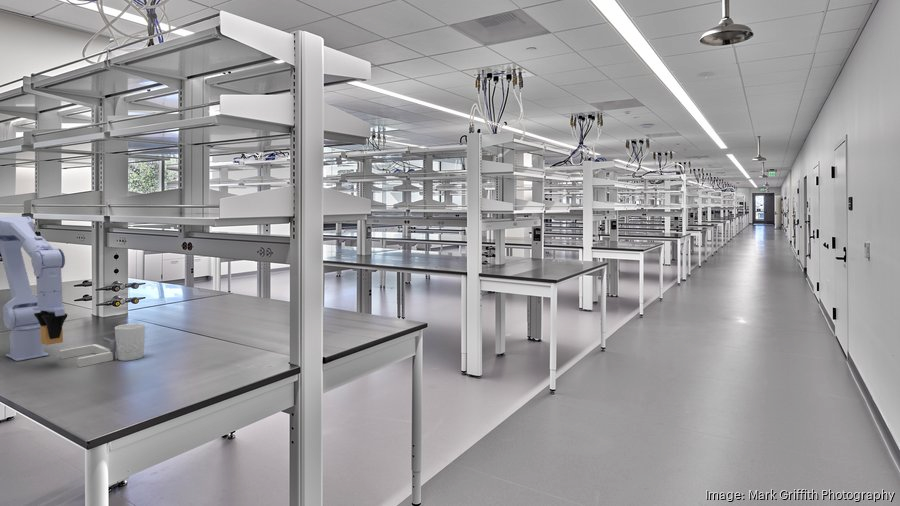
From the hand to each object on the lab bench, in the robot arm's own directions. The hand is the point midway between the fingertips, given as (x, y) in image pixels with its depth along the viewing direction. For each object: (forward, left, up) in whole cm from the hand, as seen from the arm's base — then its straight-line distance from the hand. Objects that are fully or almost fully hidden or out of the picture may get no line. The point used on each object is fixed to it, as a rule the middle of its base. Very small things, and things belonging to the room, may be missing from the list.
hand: (51, 337), depth 146 cm
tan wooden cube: (0, 0, -2) cm, 2 cm away
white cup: (+10, +17, -9) cm, 21 cm away
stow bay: (+1, +8, -8) cm, 12 cm away
